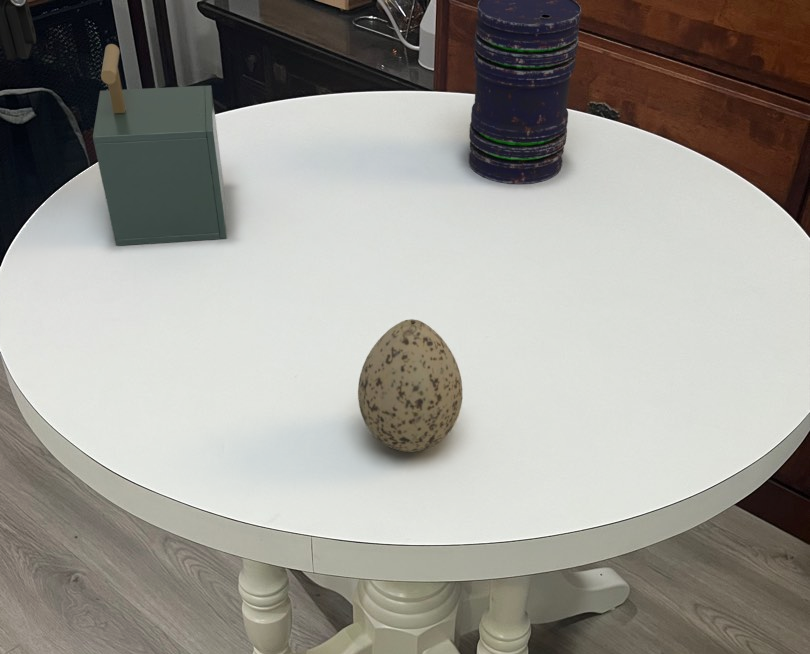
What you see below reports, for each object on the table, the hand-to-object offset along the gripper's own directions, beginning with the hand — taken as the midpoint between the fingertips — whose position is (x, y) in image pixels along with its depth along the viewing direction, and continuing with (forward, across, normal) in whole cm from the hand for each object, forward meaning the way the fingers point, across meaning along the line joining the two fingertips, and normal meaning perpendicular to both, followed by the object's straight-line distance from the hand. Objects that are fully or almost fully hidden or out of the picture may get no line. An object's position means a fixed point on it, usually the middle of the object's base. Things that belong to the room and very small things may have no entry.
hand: (19, 52), depth 82 cm
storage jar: (+16, -45, -7) cm, 48 cm away
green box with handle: (+15, -10, 0) cm, 18 cm away
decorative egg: (+15, -27, +36) cm, 48 cm away
